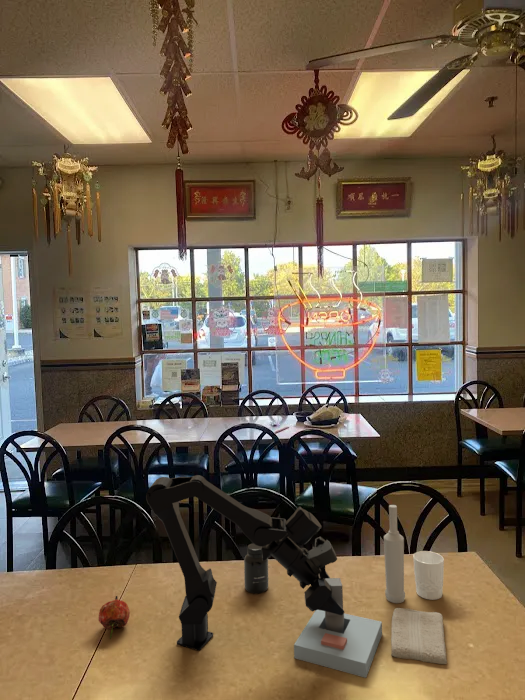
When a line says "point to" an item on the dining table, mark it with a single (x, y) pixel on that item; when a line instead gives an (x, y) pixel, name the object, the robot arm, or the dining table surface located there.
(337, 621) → the plug
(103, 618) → the pomegranate
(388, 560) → the bottle
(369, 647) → the socket plate
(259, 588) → the supplement bottle
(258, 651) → the dining table surface
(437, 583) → the white cup
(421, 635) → the washcloth
